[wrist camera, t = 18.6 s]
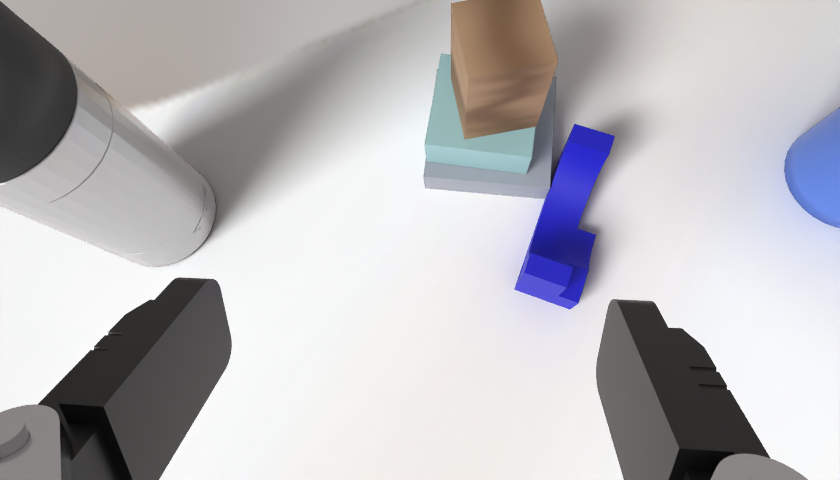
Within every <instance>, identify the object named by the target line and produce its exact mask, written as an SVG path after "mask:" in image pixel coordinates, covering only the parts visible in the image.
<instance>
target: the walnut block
mask: <svg viewBox="0 0 840 480" xmlns="http://www.w3.org/2000/svg"><path fill="white" fill-rule="evenodd" d="M557 63H558V59H557V55H556V52H555V48H554V45H553V42H552V38H551V35H550V31H549V28H548V24H547V21H546V17H545V14H544V11H543V7H542V4H541V0H467V1H461V2H456V3H451V81H452V85H453V90H454V94H455V99H456V103H457V108H458V113H459V117H460V122H461V126H462V131H463V136H464V140H465V139H470V138H476V137H481V136H487V135H493V134H498V133H504V132H509V131H515V130H520V129H526V128H532V127H537V124H538V121H539V118H540V115H541V112H542V109H543V106H544V103H545V100H546V97H547V94H548V91H549V88H550V85H551V82H552V79H553V76H554V73H555V70H556V67H557Z"/></svg>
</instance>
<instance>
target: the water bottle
mask: <svg viewBox="0 0 840 480" xmlns="http://www.w3.org/2000/svg"><path fill="white" fill-rule="evenodd" d="M784 171H785V177H786V182H787V184H788V187H789V190H790V192H791V193H792V195H793V196H794V198H795V200H796V201H797V202H798V203H799V204H800V205H801V207H802V208H803V209H804V210H806V211H807V212H808V213H809V214H811V215H812V216H813V217H815V218H817V219H818V220H820V221H822V222H824V223H826V224H829V225H831V226H834V227H838V228H840V107H839V108H838V109H837V110H835V111H834V112H833V113H831V114H830V115H829V116H827V117H826V118H825V119H823V120H822V121H821V122H819V123H818V124H817V125H815V126H814V127H813V128H811V129H810V130H808V131H807V132H806V133H804V134H803V135H802V136H800V137H799V138H798V139H797V140H796V141H795V142H794V143H793V144H792V146H791V148H790V149H789V151H788V153H787V156H786V159H785V169H784Z"/></svg>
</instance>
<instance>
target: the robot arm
mask: <svg viewBox="0 0 840 480" xmlns="http://www.w3.org/2000/svg"><path fill="white" fill-rule="evenodd" d="M0 206H1V207H4V208H6V209H8V210H11V211H13V212H16V213H18V214H20V215H23V216H25V217H27V218H30V219H32V220H35V221H37V222H39V223H42V224H44V225H46V226H49V227H51V228H54V229H56V230H58V231H61V232H63V233H65V234H68V235H70V236H73V237H75V238H77V239H80V240H82V241H84V242H87V243H89V244H92V245H94V246H96V247H99V248H101V249H103V250H105V251H108V252H110V253H112V254H115V255H117V256H120V257H122V258H124V259H127V260H129V261H132V262H134V263H137V264H140V265H144V266H151V267H160V266H167V265H170V264H173V263H176V262H179V261H181V260H183V259H184V258H186V257H188V256H189V255H191V254H192V253H193V252H194V251H195V250H197V249H198V248H199V247H200V246H201V244H202V243H203V242H204V241H205V239H206V238H207V236H208V234H209V233H210V231H211V229H212V226H213V223H214V220H215V214H216V202H215V196H214V193H213V191H212V188H211V186H210V185H209V183H208V182H207V181H206V179H205V178H204V177H203V176H201V175H200V174H199V173H198V172H197V171H196V170H195V169H194V168H192V167H191V166H190V165H189V164H188V163H187V162H186V161H185V160H183V159H182V158H181V157H180V156H179V155H178V154H177V153H176V152H175V151H174V150H172V149H171V148H170V147H169V146H168V145H167V144H166V143H164V142H163V141H162V140H161V139H160V138H159V137H158V136H156V135H155V134H154V133H153V132H152V131H151V130H150V129H148V128H147V127H146V126H145V125H144V124H143V123H142V122H140V121H139V120H138V119H137V118H136V117H135V116H134V115H132V114H131V113H130V112H129V111H128V110H127V109H126V108H124V107H123V106H122V105H121V104H120V103H119V102H117V101H116V100H115V99H114V98H113V97H112V96H111V95H110V94H108V93H107V92H106V91H105V90H104V89H103V88H102V87H100V86H99V85H98V84H97V83H96V82H94V81H93V80H92V79H91V78H90V77H89V76H88V75H86V74H85V73H84V72H83V71H82V70H81V69H79V68H78V67H77V66H76V65H75V64H74V63H73V62H71V61H70V60H69V59H68V58H67V57H66V56H65V55H64V54H62V53H61V52H60V51H59V50H58V49H56V48H55V47H54V46H53V45H52V44H51V43H49V42H48V41H47V40H46V39H45V38H44V37H42V36H41V35H40V34H39V33H37V32H36V31H35V30H34V29H33V28H32V27H30V26H29V25H28V24H27V23H25V22H24V21H23V20H22V19H21V18H19V17H18V16H17V15H15V14H14V12H12V11H11V10H10V9H9V8H8V7H7V6H5V5H4V4H3V3H2V2H1V1H0ZM231 347H232V342H231V335H230V330H229V326H228V321H227V316H226V312H225V307H224V303H223V298H222V294H221V289H220V286H219V284H218V282H217V281H216V280H214V279H200V278H176V279H174V280H173V281H172V282H171V283H170V284H169V285H168V286H167V287H166V288H165V289H164V290H163V291H162V293H161V294H160V295H159V296H158V297H157V298H156V299H155V300H149V301H147V302H145V303H144V304H142V305H140V306H139V307H137V308H135V309H134V310H132V311H130V312H129V313H127V314H125V315H124V317H123V318H122V319H121V320H120V321H119V322H118V323H117V324H116V325H115V326H114V327H113V328H112V329H111V330H110V331H109V334H108V336H106V335H105V336H104V337H103V338H102V339H101V340H100V341H99V342H98V343H97V344H96V345H95V346H94V350H90V351H89V352H88V353H87V354H86V356H85V357H84V358H83V359H82V360H81V361H80V362H79V363H78V364H77V365H76V366H75V367H74V368H73V369H72V370H71V371H70V372H69V373H68V374H67V375H66V376H65V377H64V378H63V379H62V380H61V381H60V382H59V383H58V384H57V385H56V386H55V387H54V388H53V389H52V390H51V391H50V392H49V393H48V394H47V396H46V397H45V398H44V399H43V400H42V401H41V402H40V403H39V404H38V405H25V406H20V407H16V408H12V409H9V410H6V411H3V412H1V413H0V480H159V479H160V477H161V475H162V474H163V472H164V470H165V469H166V467H167V465H168V464H169V462H170V460H171V459H172V457H173V455H174V454H175V452H176V450H177V449H178V447H179V445H180V444H181V442H182V440H183V439H184V437H185V435H186V434H187V432H188V430H189V429H190V427H191V425H192V424H193V422H194V420H195V419H196V417H197V415H198V414H199V412H200V410H201V409H202V407H203V405H204V404H205V402H206V400H207V399H208V397H209V395H210V394H211V392H212V390H213V389H214V387H215V385H216V384H217V382H218V380H219V379H220V377H221V376H222V374H223V372H224V371H225V369H226V367H227V365H228V362H229V359H230V355H231ZM596 378H597V387H598V392H599V396H600V399H601V402H602V406H603V409H604V413H605V416H606V419H607V423H608V426H609V430H610V433H611V437H612V440H613V443H614V447H615V450H616V454H617V457H618V461H619V464H620V467H621V471H622V474H623V478H624V480H808V479H806V478H805V477H804V476H803V475H801V474H800V473H798V472H797V471H795V470H794V469H792V468H790V467H788V466H786V465H785V464H783V463H780V462H778V461H776V460H773V459H770V457H769V455H768V454H767V452H766V450H765V448H764V447H763V445H762V443H761V442H760V440H759V438H758V437H757V435H756V433H755V432H754V430H753V428H752V427H751V425H750V423H749V422H748V420H747V418H746V417H745V415H744V413H743V412H742V410H741V408H740V407H739V405H738V403H737V402H736V400H735V398H734V397H733V395H732V393H731V392H730V390H727V385H726V383H725V382H724V380H723V378H722V377H721V375H720V373H719V372H716V366H715V365H714V363H713V361H712V360H711V358H710V356H709V355H708V353H707V351H706V350H705V348H704V347H703V346H702V345H701V344H700V343H698V342H697V341H696V340H695V339H694V338H693V337H691V336H690V335H689V334H688V333H687V332H685V331H684V330H683V329H681V328H668V326H667V325H666V323H665V321H664V319H663V317H662V315H661V313H660V311H659V310H658V308H657V306H656V304H655V303H654V302H652V301H638V300H617V299H613V300H611V302H610V304H609V306H608V310H607V315H606V320H605V324H604V329H603V334H602V339H601V344H600V349H599V353H598V358H597V367H596Z"/></svg>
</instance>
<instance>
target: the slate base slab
mask: <svg viewBox="0 0 840 480" xmlns="http://www.w3.org/2000/svg"><path fill="white" fill-rule="evenodd" d="M437 73H438V69H437ZM436 79H437V76H436ZM555 91H556V77H553V79H552V82H551V85H550V88H549V91H548V94H547V97H546V100H545V103H544V106H543V109H542V112H541V115H540V118H539V121H538V124H537V127H535V134H534V142H533V151H532V158H531V161H530V164H529V167H528V170H527V173H526V174H521V173H513V172H505V171H497V170H489V169H482V168H474V167H466V166H458V165H451V164H443V163H435V162H427V161H425V169H424V184H425V188H429V189H440V190H451V191H462V192H473V193H484V194H495V195H506V196H517V197H529V198H540V199H545V198H546V196H547V193H548V191H549V189H550V180H551V162H552V144H553V126H554V108H555Z"/></svg>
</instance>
